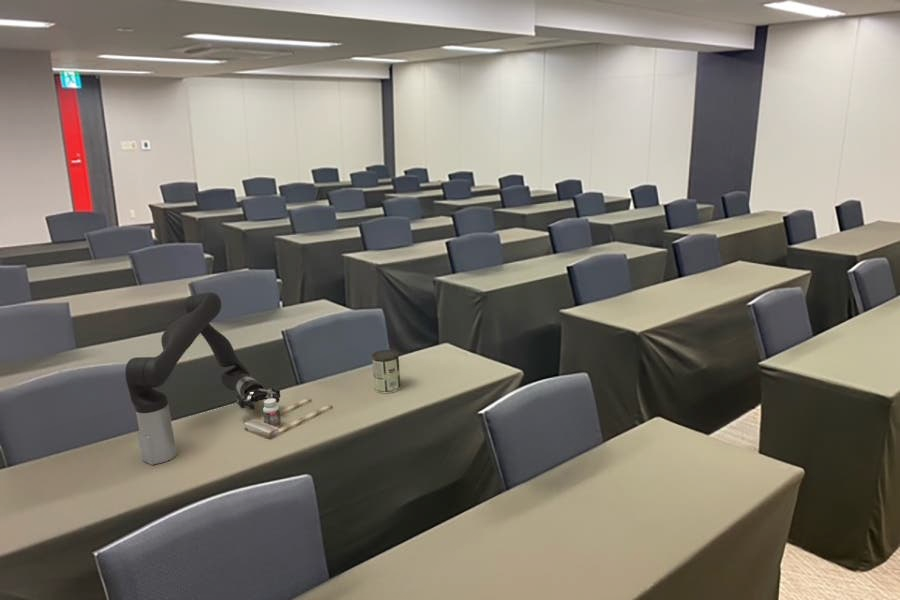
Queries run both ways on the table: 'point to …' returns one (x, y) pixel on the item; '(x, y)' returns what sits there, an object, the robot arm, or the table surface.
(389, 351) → the coffee can
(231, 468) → the table surface
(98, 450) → the table surface
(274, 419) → the pill bottle
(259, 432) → the keeper track
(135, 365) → the robot arm
